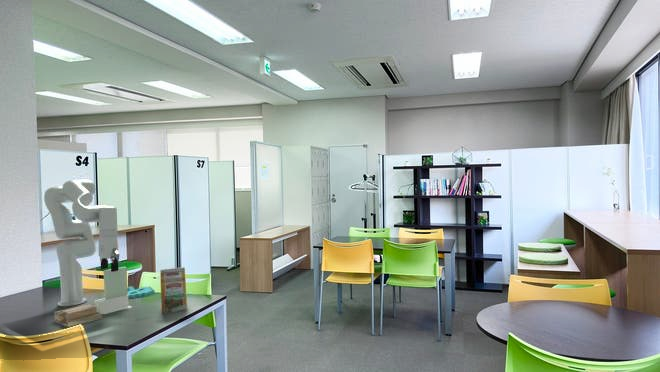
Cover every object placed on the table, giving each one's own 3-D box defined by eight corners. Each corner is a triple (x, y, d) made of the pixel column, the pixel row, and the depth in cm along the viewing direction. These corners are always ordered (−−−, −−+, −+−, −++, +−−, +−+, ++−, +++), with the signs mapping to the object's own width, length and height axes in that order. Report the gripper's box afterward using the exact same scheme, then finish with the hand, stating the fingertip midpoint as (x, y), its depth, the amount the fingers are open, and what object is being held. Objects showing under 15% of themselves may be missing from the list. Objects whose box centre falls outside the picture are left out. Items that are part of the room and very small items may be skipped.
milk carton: (186, 305, 205) (184, 265, 205) (186, 311, 195) (185, 269, 195) (162, 308, 202) (160, 267, 202) (161, 314, 192) (160, 271, 192)
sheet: (105, 309, 198) (103, 270, 198) (126, 304, 206) (125, 266, 206) (106, 310, 197) (104, 270, 197) (128, 304, 205) (126, 266, 205)
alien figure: (104, 300, 224) (138, 300, 220) (104, 295, 224) (138, 296, 220) (129, 290, 244) (161, 290, 240) (129, 286, 244) (161, 286, 240)
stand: (94, 314, 196) (94, 300, 196) (122, 307, 206) (122, 293, 206) (104, 317, 191) (103, 302, 191) (132, 309, 201) (131, 296, 201)
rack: (54, 325, 183) (54, 312, 183) (87, 316, 193) (86, 304, 193) (68, 330, 174) (68, 317, 174) (102, 321, 184) (101, 308, 184)
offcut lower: (63, 323, 180) (62, 317, 180) (90, 316, 189) (90, 310, 189) (69, 325, 176) (68, 319, 176) (97, 318, 185) (96, 312, 185)
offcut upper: (62, 317, 180) (62, 311, 180) (90, 310, 189) (90, 304, 189) (68, 319, 176) (68, 313, 176) (96, 312, 185) (96, 306, 185)
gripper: (91, 233, 202) (92, 269, 202) (109, 235, 191) (110, 273, 192) (107, 231, 208) (108, 266, 208) (125, 233, 197) (127, 270, 197)
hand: (109, 270), depth 200 cm, fingers open, 9 cm apart
